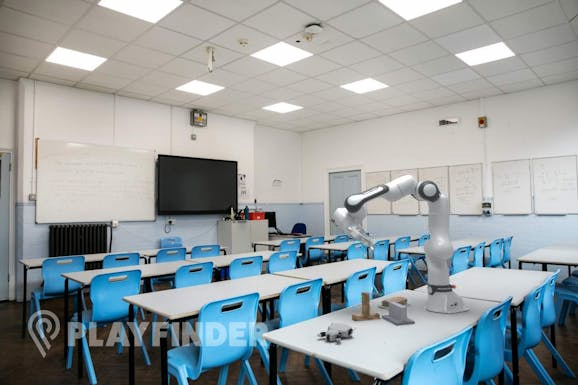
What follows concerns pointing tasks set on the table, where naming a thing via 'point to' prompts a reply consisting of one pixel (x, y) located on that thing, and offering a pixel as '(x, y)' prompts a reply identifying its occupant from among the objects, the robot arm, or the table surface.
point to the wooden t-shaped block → (365, 310)
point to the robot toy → (337, 332)
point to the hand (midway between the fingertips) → (370, 247)
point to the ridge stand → (397, 314)
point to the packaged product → (396, 299)
